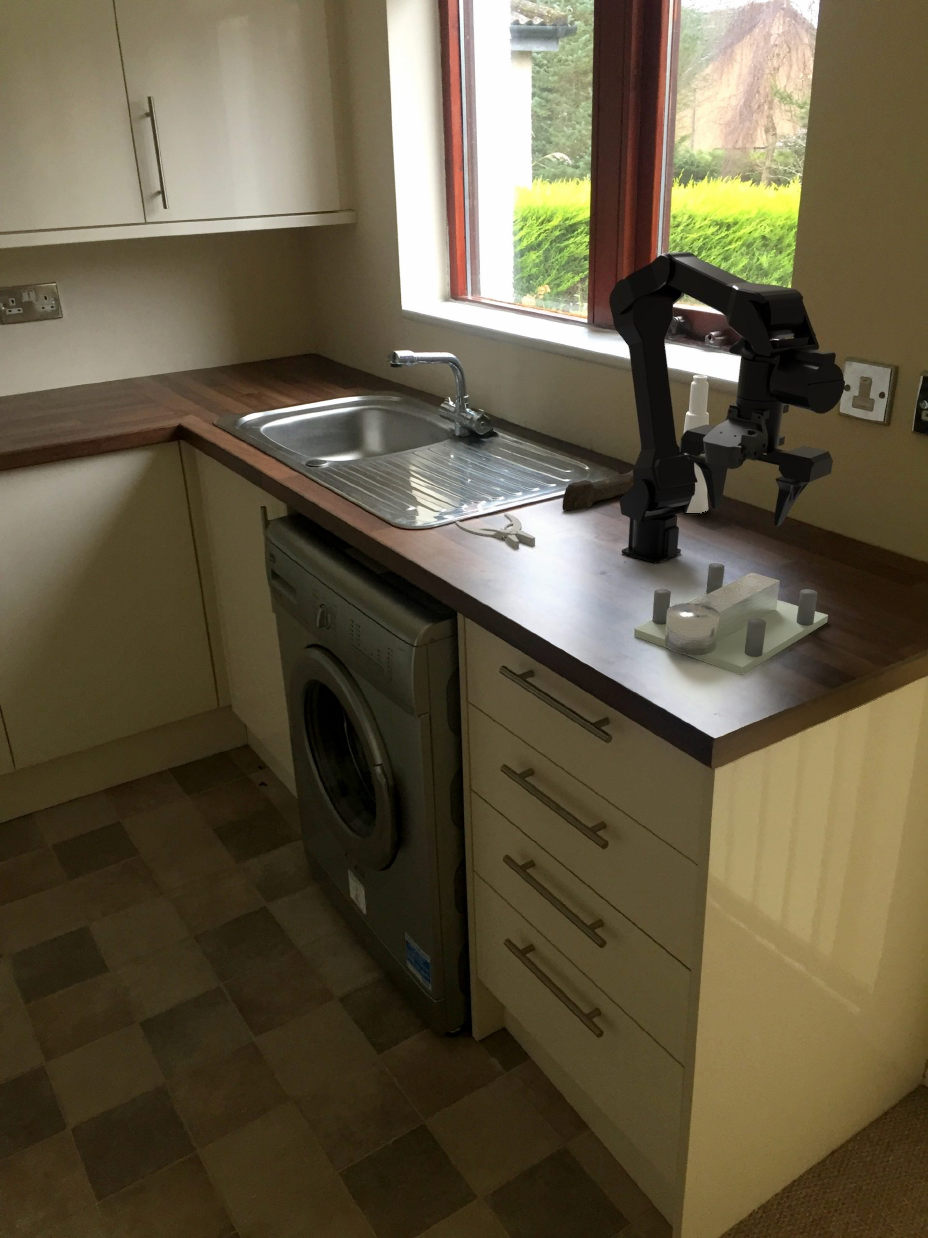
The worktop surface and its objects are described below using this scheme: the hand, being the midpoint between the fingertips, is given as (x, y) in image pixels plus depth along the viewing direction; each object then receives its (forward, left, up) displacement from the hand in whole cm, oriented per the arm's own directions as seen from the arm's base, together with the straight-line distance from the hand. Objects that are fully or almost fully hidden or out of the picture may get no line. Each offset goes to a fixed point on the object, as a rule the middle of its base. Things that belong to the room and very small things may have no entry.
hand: (745, 516), depth 131 cm
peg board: (+5, -10, -11) cm, 16 cm away
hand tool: (-39, +21, -12) cm, 46 cm away
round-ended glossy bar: (+5, -12, -10) cm, 17 cm away
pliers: (-41, -3, -12) cm, 42 cm away
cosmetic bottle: (-26, +27, -11) cm, 39 cm away
